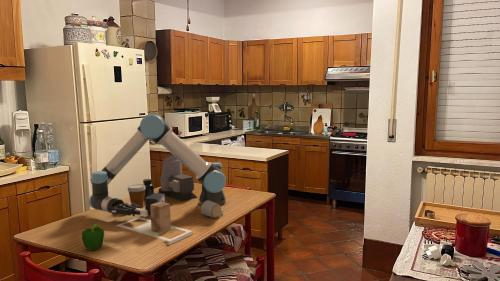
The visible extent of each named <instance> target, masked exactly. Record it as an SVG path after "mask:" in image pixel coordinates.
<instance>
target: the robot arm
mask: <svg viewBox="0 0 500 281" xmlns="http://www.w3.org/2000/svg"><path fill="white" fill-rule="evenodd" d="M149 141H152V143H154V144H155V145H161V146H162V147H164V148H165V149H166V150H167V151H168V152H169V153H170V154H172V156H175V157H176V158H177V159H178V160H180V161H181V162H182V164H183V165H184V166H185V167H186V168H188V169H189V170H190V171H191V172H192V173H193V174H194V175H195V180H196V181H198V182H199V183H200V184H201V192H200V195H199V198H198V203H199V205H200V206H202V204H203V203H204V202H205V201H207V200H209V201H212V202H214V203H217V204H219V205H220V206H222V205H225V204H226V202H227V200H226V195H225V193H224V189H225V187H226V183H227V179H226V175H225V174H224V172H223V164H222V163H221V162H212V161H209V162H208V161H205V159H203V158H202V156H200V155H199V154H198V153H197V152H196V151H195V150H193V149H192V148H191V147H190V146H189V145H188V144H187V143H185V141H183V140H182V139H181V137H179V136H178V135H177V134H176V133H175V132H174V131H173V127H172V126H171V125H170V124H169V123H168V122H167V121H166V120H165V118H164V117H163V116H162V115H161V114H158V113H156V112H151V113H148V114H146V115H144V116H143V117H142V118H141V120H140V123H139V125H138V127H137V128H136V132H135V133H134V134H133V135H132V136H131V137H130V138H129V139H128V141H126V143H125V144H124V145H123V146H122V147H121V148H120V149H119V151H118V152H116V154H115V155H114V156H113V157H112V158H111V160H110V161H108V162H107V164H106V165H105V166H104V167H103V168H102V169H101V170H97V171H93V172H92V173H91V179H90V181H91V192H92V195H90V196H89V199H88V205H89V207H91V208H92V209H94V210H96V211H102V212H107V213H109V214H112V215H122V216H131V215H132V217H136V216H139V217H140V216H141V217H143V218H146V217H149V216H148V213H147V210H145V209H144V208H141V206H139V205H137V204H135V203H134V202H132V203H131V202H130V204H129V203H127V202H124V200H123V199H121V198H117V197H113V196H109V184H111V182H112V181H113V179H114V178H116V177H117V175H118V174H119V173H120V172H121V171H122V170H123V169H124V168H125V166H126V165H128V164H129V162H130V161H131V160H133V158H134V156H136V154H137V153H139V151H140V150H141V149H142V148H143V147H144V146H145V145H146V143H148V142H149Z"/></svg>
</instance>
